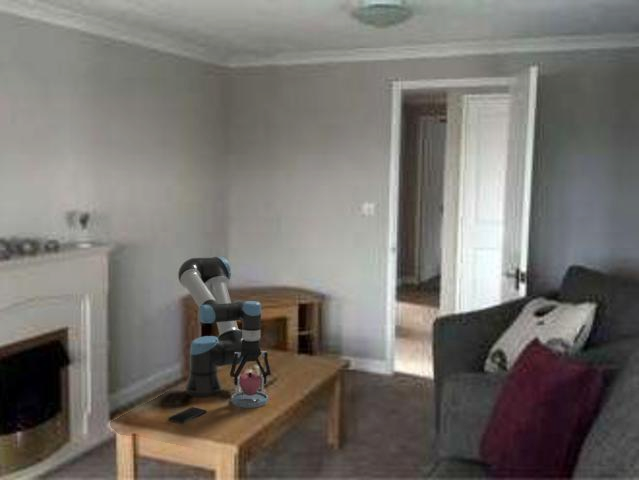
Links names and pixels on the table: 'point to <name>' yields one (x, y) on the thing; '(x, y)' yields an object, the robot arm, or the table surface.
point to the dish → (250, 400)
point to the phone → (187, 415)
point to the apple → (250, 383)
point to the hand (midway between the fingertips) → (250, 391)
